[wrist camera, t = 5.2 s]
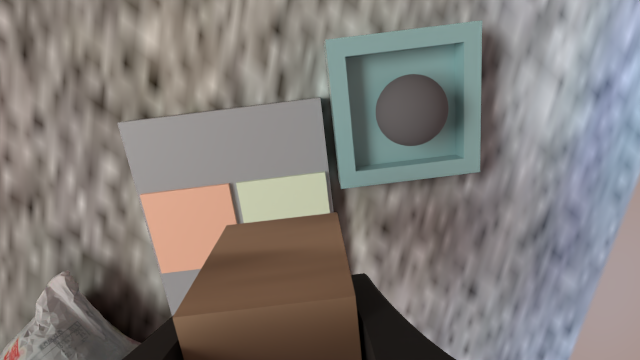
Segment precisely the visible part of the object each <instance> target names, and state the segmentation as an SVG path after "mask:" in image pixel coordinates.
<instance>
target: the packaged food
mask: <svg viewBox="0 0 640 360" xmlns="http://www.w3.org/2000/svg"><path fill="white" fill-rule="evenodd" d="M140 344H141V343H139V342H137V341H135V340H133V339H131V338H129V337H127V336H126V335H124V334H123V333H121V332H120V331H119V330H118V329H117V328H116V327H114V326H112V325H111V324H110V322H109V321H107V320H105V319H104V318H103V316H102V315H101V314H100V312H99V311H98V310H97V309H95V308H94V307H93V306H92V305H91V303H90V302H89V301H88V300H87V299H86V297H85V295H83V294H81V293H80V292H79V287H78V283H77V282H74V277H73V276H71V275H70V272H69V271H65V272H62V273H60V274H58V275H56V276H55V277H54V278H53V279H52V280H51V281H49V283H48V285H47V287H46V288H45V289H44V291H43V292H42V294H41V295H40V297H39V299H38V300H37V302H36V313H35V317H34V318H33V319H32V320H31V321H30V322H29V323H28V324H27V325H26V326H25V327H24V328H23V329H22V330H21V331H20V332H19V333H18V334H17V335H16V336H15V338H14V339H13V340H11V341H10V343H9V344H8V345H7V346H6V347H5V349H4V350H3V351H2V352H1V353H0V360H122V359H123V358H124V357H125V356H127V355H128V354H129V353H130V352H131V351H133V350H134V349H135V348H136V347H138V346H139V345H140Z"/></svg>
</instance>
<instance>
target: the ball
mask: <svg viewBox="0 0 640 360" xmlns="http://www.w3.org/2000/svg"><path fill="white" fill-rule="evenodd" d="M448 110H449V106H448V100H447V97H446V94H445V92H444V90H443V89H442V87H441V86H440V85H439V84H438V83H437V82H436V81H434V80H433V79H431V78H429V77H427V76H424V75H419V74H408V75H404V76H401V77H398V78H396V79H394V80H393V81H391V82H390V83H389V84H388V85H387V86H386V87H385V88H384V89H383V91H382V92H381V94H380V96H379V98H378V100H377V104H376V120H377V124H378V126H379V128H380V130H381V131H382V133H383V134H384V135H385V136H386V137H387V138H388V139H389V140H391V141H393V142H394V143H397V144H400V145H404V146H417V145H421V144H424V143H426V142H428V141H430V140H431V139H433V138H434V137H435V136H437V135H438V133H439V132H440V131H441V130H442V128H443V127H444V125H445V123H446V120H447V117H448Z"/></svg>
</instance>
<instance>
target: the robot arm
mask: <svg viewBox="0 0 640 360" xmlns="http://www.w3.org/2000/svg"><path fill="white" fill-rule="evenodd" d="M351 278H352V283H353V287H354V292H355V296H356V306H357V317H358V327H359V338H360V348H361V358H362V360H456V359H454V358H453V357H451V356H450V355H448V354H447V353H446V352H444V351H443V350H442V349H440V348H439V347H438V346H436V345H435V344H434V343H433V342H431V341H430V340H429V339H428V338H426V337H425V336H424V335H423V334H422V333H420V332H419V331H418V330H417V329H416V328H415V327H414V326H413V325H412V324H410V323H409V322H408V321H407V320H406V319H405V318H404V317H403V316H402V315H401V314H400V313H399V312H398V311H397V310H396V309H395V308H394V307H393V306H392V305H391V304H390V303H389V301H388V300H387V299H386V298H385V297H384V296H383V295H382V294H381V292H380V291H379V290H378V289H377V288H376V286H375V285H374V284H373V282H372V281H371V280H370V278H369V277H368V276H367V275H366V274H365V273H364V274H355V275H351ZM173 316H174V315H173ZM173 316H172V317H171V318H170V319H169V320H168V321H167V322H165V323H164V324H163V325H162V326H161V327H160V328H159V329H158V330H156V331H155V332H154V333H153V334H152V335H151V336H150V337H148V338H147V339H146V340H145V341H144V342H142V343H141V344H140V345H139V346H138V347H136V348H135V349H134V350H133V351H131V352H130V353H129V354H128V355H127V356H125V357H124V358H123V359H122V360H184V358H183V354H182V351H181V347H180V343H179V340H178V336H177V332H176V329H175V325H174V322H173Z"/></svg>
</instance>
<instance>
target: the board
mask: <svg viewBox="0 0 640 360" xmlns="http://www.w3.org/2000/svg"><path fill="white" fill-rule="evenodd" d="M118 127H119V130H120V134H121V137H122V141H123V144H124V148H125V152H126V155H127V159H128V162H129V166H130V169H131V173H132V176H133V180H134V183H135V187H136V190H137V194H138V197H139V201H140V205H141V208H142V212H143V215H144V219H145V222H146V226H147V229H148V233H149V236H150V240H151V243H152V247H153V250H154V254H155V258H156V261H157V265H158V268H159V272H160V275H161V279H162V282H163V286H164V289H165V293H166V296H167V300H168V303H169V307H170V311H171V314H172V316H173V315H174V314H175V312H176V311H177V309H178V307H179V306H180V304H181V302H182V301H183V299H184V297H185V295H186V294H187V292H188V290H189V289H190V287H191V285H192V284H193V282H194V280H195V278H196V277H197V275H198V273H199V272H200V270H201V268H202V266H203V265H204V263H205V261H206V260H207V258H208V256H209V255H210V253H211V251H212V249H213V248H214V246H215V244H216V243H217V241H218V239H219V237H220V236H221V234H222V232H223V231H224V229H225V227H226V226H227V225H233V224H242V223H250V222H259V221H267V220H276V219H284V218H293V217H302V216H310V215H319V214H327V213H334V212H333V204H332V195H331V186H330V178H329V169H328V160H327V151H326V143H325V134H324V125H323V117H322V108H321V99H320V97H319V98H310V99H302V100H294V101H286V102H278V103H270V104H262V105H254V106H246V107H237V108H229V109H221V110H213V111H205V112H197V113H189V114H181V115H172V116H164V117H156V118H148V119H140V120H132V121H125V122H120V123H118Z"/></svg>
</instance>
